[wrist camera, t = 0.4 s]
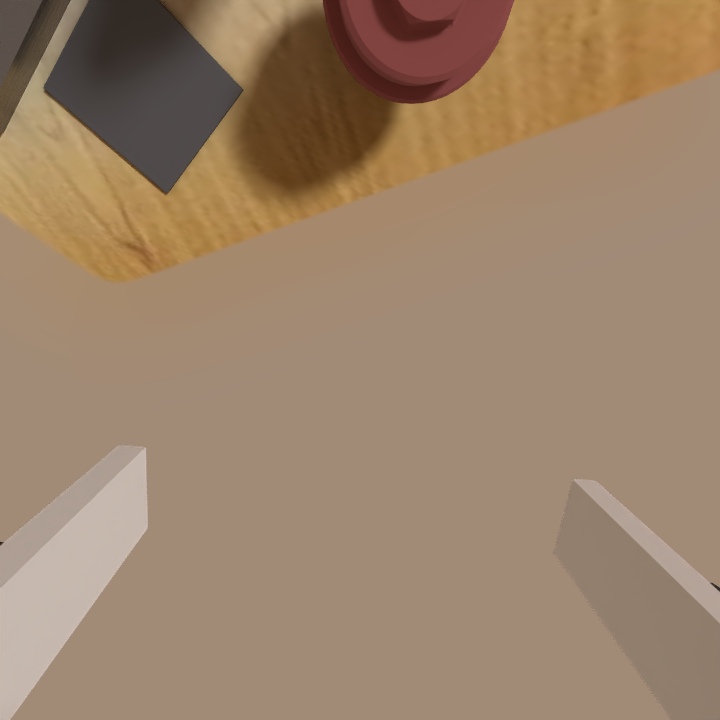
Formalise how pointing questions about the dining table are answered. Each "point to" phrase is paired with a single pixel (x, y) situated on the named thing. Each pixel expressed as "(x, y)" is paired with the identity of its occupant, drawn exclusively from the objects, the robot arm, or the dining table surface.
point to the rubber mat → (142, 85)
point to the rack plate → (23, 46)
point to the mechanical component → (415, 43)
